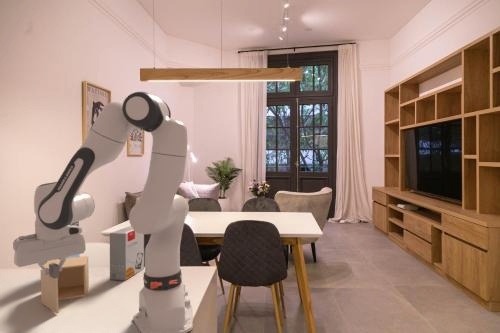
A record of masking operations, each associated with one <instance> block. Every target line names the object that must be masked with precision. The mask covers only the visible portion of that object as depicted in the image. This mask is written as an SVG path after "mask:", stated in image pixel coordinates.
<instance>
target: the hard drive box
mask: <svg viewBox="0 0 500 333" xmlns="http://www.w3.org/2000/svg"><path fill="white" fill-rule="evenodd" d="M142 270H145V234H139V233H137V232H136V231H135V230H134V229H133V228H132V227H131V225H129V226H126V227H124V228H120V229H117V230H115V231H112V232H110V233H109V280H115V281H127V280H128V279H131V278H132V277H134V275H137V274H138V273H140V272H142Z"/></svg>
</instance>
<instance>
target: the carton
mask: <svg viewBox="0 0 500 333" xmlns="http://www.w3.org/2000/svg"><path fill="white" fill-rule="evenodd" d="M60 261H61V260H59V259H56V260H50V261H47V263H46V264H45V265H43V266H44V267H45V268H48V269H49V264H51V263H56V264H58V265H59V263H60ZM89 273H90V272H89V255H84V256H79V257H74V258H66V261H65V263H64V264H63V266H62V271H60V272H59V277H58V301H63V300H69V299H77V298H83V297H87V295H88V294H87V293H88V289H89V287H90V280H89V279H90V277H89Z"/></svg>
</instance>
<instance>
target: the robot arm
mask: <svg viewBox="0 0 500 333" xmlns="http://www.w3.org/2000/svg"><path fill="white" fill-rule="evenodd" d="M171 116H172V114H171V109H170V107H169V106H168V104H167V103H166V102H165V101H164V100H162V99H161V98H159V97H158V96H156V95H155V94H151V93H149V92H147V91H136V92H132V93H130V94H129V95H128V96H126V97H125V99H124V101H123V103H121V102H115V101H112V102H109V103H107V104H106V105H104V107H103V108H102V109H101V111H100V112H99V114H98V116H97V117H96V119H95V121H94V122H93V124H92V126H91V128H90V130H89V132H88V134H87V136H86V138H85V139H84V140H83V141H84V142H82V143H81V144H82V145H81V146H80V147H79V148H78V149H77V151H76V152H75V153H74V154H73V156H72V157H71V159H70V160H69V162H68V164H67V165H66V166H65V168H64V170H63V172H62V173H61V175H60V177H59V178H58V180H57V181H53V182H47V183H43V184H39V185H38V186H37V187H36V189H35V191H34V196H33V197H34V198H33V204H34V205H33V206H34V207H33V208H34V209H33V210H34V214H35V221H34V233H31V234H28V235H27V234H26V235H20V236H18V237H17V238H15V239H14V240H13V242H12V248H13V250H14V257H13V258H14V259H13V262H14V265H15V266H16V267H18V268H21V267H27V266H31V265H36V264H37V265H38V266H39V267H40V270H41V269H42V273H43V275H47V274H49V269H48V268H45V267H44V265H45V261H50V260H55V259H59V260H61V261H60V263H59V272H60V271H62V266H63V264H64V263H65V261H66V257H68V256H73V255H77V254H79V255H82V254H84V253H85V251H86V239H85V237H84V236H85V235H83V234H82V232H83V229H82V228H83V227H81V226H80V225H79V226H76V225H71V224H73V223H76V222H78V221H79V222H81V221H84V220H86V219H87V218H90V217H91V216H92V215H93V213H94V212H95V211H94V210H95V209H96V208H95V207H96V206H95V201H94V198H93V196H91V195H90V194H89V193H87V192H84V191H80V190H81V188H82V186H83V184H84V183H85V181H86V179H87V178H89V175H90V174H92V173H93V172H94V171H96V170H98V169H100V168H101V167H103V166H106V165H107V164H109V163H112V162H114V161H116V159H118V157H119V156H120V154H122V151H123V149H124V147H125V145H126V143H127V141H128V139H129V136H130V135H131V134H132V132H133V131H134V130H135V129H137V128H138V129H140V130H142V131H145V132H147V133H150V134H151V136H152V144H151V145H152V146H151V153H150V154H151V155H150V162H149V168H148V173H147V178H146V181H145V183H144V187H143V189H142V192H141V194H140V196H139V198H138V200H137V201H136V203H135V204H134V205H133V206H132V208H131V209H130V211H129V216H128V218H129V219H128V221H129V226H131V227H132V228H133V229H134V230H135V231H136V232H137V233H139V234H144V235H150V238H149V240H148V241H147V242H148V243H147V244H146V246H145V247H144V272H143V277H142V278H143V287H142V288H141V289H140V291H139V292H138V312H137V313H135V314H133V315H132V320H133V321H134V323H135V325H136V327H137V329H138V330H139V332H140V333H188V332H191V331H193V328H194V327H193V326H194V325H193V323H194V322H193V305H192V304H191V299H186V297H188V296H189V295H188V294H189V292H188V291H186V284H185V283H184V282H183V280H182V277H183V276H182V274H183V273H182V269H181V262H180V260H181V256H180V255H181V250H180V249H181V241H182V236H183V230H184V226H185V222H186V218H187V216H188V214H189V212H190V205H189V202H188V201H187V199H186V198H185V197H184V196H182V195H180V194H177V192H178V189H179V187H180V186H181V185H182V183H183V181H184V178H185V172H186V171H185V169H186V163H187V155H188V154H187V153H188V128H187V126H186V125H185V124H184V123H183V122H182V121H179V120H177V119H173V118H172V117H171Z"/></svg>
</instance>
